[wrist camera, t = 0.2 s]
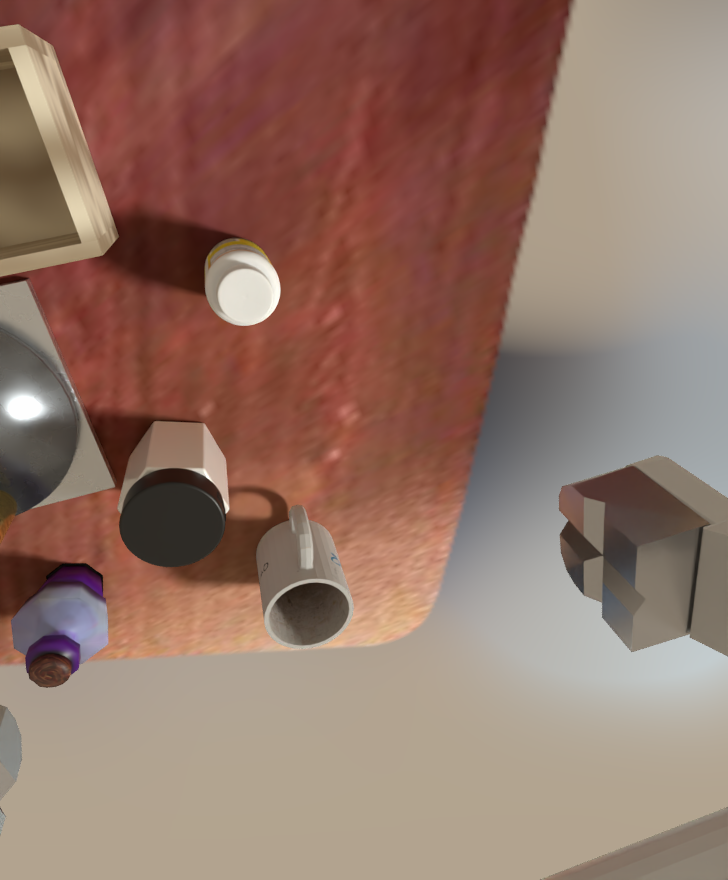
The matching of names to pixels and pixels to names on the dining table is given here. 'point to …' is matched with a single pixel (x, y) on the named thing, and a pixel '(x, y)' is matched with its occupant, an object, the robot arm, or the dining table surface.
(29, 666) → the potion bottle
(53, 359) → the base
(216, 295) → the supplement bottle
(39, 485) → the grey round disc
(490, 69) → the dining table surface
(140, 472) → the jar
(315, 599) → the mug
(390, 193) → the dining table surface
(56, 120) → the open wooden box
